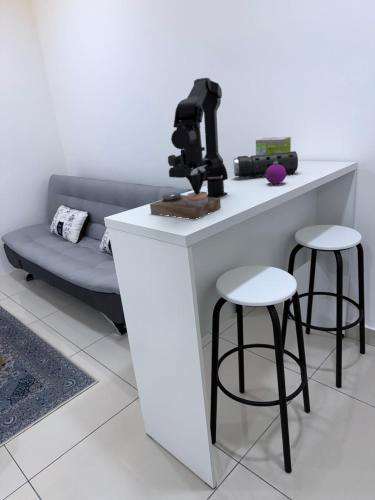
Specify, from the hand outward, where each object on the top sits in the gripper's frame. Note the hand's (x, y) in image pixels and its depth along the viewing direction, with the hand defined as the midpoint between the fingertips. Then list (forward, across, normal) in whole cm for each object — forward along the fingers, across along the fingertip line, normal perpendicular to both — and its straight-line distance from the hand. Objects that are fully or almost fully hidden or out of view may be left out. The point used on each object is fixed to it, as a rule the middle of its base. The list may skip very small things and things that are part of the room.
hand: (197, 194), depth 117 cm
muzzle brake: (+7, -60, -9) cm, 61 cm away
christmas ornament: (+7, -46, +4) cm, 47 cm away
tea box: (+7, -81, -16) cm, 83 cm away
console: (+6, 0, -6) cm, 9 cm away
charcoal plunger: (+6, 0, -12) cm, 14 cm away
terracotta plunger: (+5, 0, 0) cm, 5 cm away
